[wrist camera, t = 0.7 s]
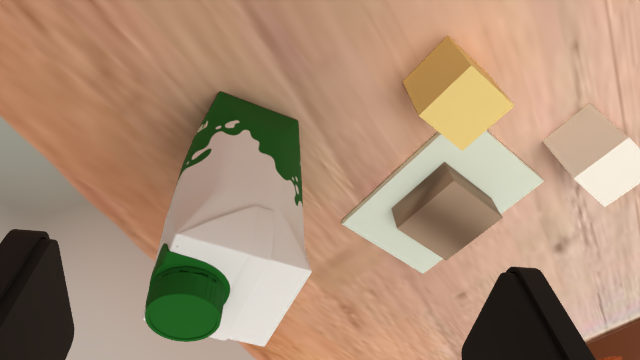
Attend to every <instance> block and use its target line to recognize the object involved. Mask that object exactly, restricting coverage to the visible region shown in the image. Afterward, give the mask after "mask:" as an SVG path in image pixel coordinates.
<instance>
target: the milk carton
mask: <svg viewBox="0 0 640 360" xmlns="http://www.w3.org/2000/svg"><path fill="white" fill-rule="evenodd" d="M311 272H312V271H311V268H310V264H309V261H308V258H307V254H306V251H305V244H304V224H303V202H302V180H301V159H300V143H299V126H298V121H297V120H295V119H292V118H289V117H287V116H284V115H281V114H279V113H276V112H273V111H271V110H268V109H265V108H263V107H260V106H258V105H255V104H252V103H250V102H247V101H244V100H242V99H239V98H236V97H234V96H231V95H228V94H226V93H223V92H221V91H220V92H219V93H218V95H217V97H216V99H215V101H214V102H213V104H212V106H211V108H210V109H209V111H208V113H207V115H206V117H205V118H204V120H203V122H202V124H201V125H200V127H199V129H198V131H197V133H196V135H195V137H194V139H193V141H192V144H191V146H190V149H189V151H188V153H187V155H186V158H185V160H184V163H183V166H182V169H181V172H180V175H179V179H178V182H177V185H176V188H175V191H174V195H173V198H172V201H171V204H170V207H169V211H168V214H167V217H166V220H165V224H164V228H163V232H162V236H161V240H160V244H159V248H158V253H157V257H156V262H155V266H154V270H153V273H152V276H151V281H150V286H149V292H148V296H147V300H146V305H145V310H144V314H143V320H144V321H146V322H147V324H148V326H149V327H150V328H151V329H152V330H153V331H154V332H155V333H157V334H158V335H160V336H162V337H165V338H167V339H171V340H175V341H184V342H189V341H196V340H201V339H204V338H207V337H211V338H215V339H219V340H227V338H228V339H232V340H236V341H241V342H245V343H250V344H254V345H259V346H263V347H264V346H265V345H266V343H267V342H268V340H269V339H270V337H271V335H272V334H273V332H274V331H275V329H276V327H277V326H278V324H279V323H280V321H281V320H282V318H283V316H284V315H285V313H286V312H287V310H288V309H289V307H290V305H291V304H292V302H293V301H294V299H295V298H296V296H297V294H298V293H299V291H300V290H301V288H302V287H303V285H304V283H305V282H306V280H307V279H308V277H309V275H310V274H311Z"/></svg>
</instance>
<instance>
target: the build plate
mask: <svg viewBox="0 0 640 360" xmlns="http://www.w3.org/2000/svg"><path fill="white" fill-rule="evenodd" d="M444 162H446V163H447V164H448V165H450V166H451V167H452V168H454V169H455V170H456V171H457V172H459V173H460V174H461V175H463V176H464V177H465V178H466V179H468V180H469V181H470V182H472V183H473V184H474V185H475V186H477V187H478V188H479V189H481V190H482V191H483V192H484V193H486V194H487V195H488V196H490V197H491V198H492V200H493V202H494V203H495V205H496V207H497V209H498V211H499V212H500V214H502V213H503V212H505V211H506V210H507V209H508V208H510V207H511V206H512V205H514V204H515V203H516V202H518V201H519V200H520V199H522V198H523V197H524V196H525V195H527V194H528V193H529V192H531V191H532V190H533V189H535V188H536V187H537V186H539V185H540V184H541V183H542V182H544V180H543V179H542V177H540V176H539V175H538V174H537V173H536V172H535V171H533V170H532V169H531V168H530V167H529V166H528V165H527V164H525V163H524V162H523V161H522V160H521V159H520V158H518V157H517V156H516V155H515V154H514V153H513V152H512V151H510V150H509V149H508V148H507V147H506V146H505V145H503V144H502V143H501V142H500V141H499V140H498V139H497V138H495V137H494V136H493V135H492V134H491V133H490V132H488V131H487V130H486V131H485V132H484V133H483V134H481V135H480V136H479V137H478V138H477V139H476V140H474V141H473V142H472V143H471V144H470V145H469V146H468V147H466V148H465V149H464V150H463V151H462V150H460V149H459V148H458V147H457V146H455V145H454V144H453V143H452V142H450V141H449V140H448V139H447V138H445V137H444V136H443V135H442V134H441V133H439V132H437V133H436V134H435V135H434V136H433V137H432V138H431V139H430V140H429V141H428V142H426V143H425V144H424V145H423V146H422V147H421V148H420V149H419V150H418V151H417V152H416V153H414V154H413V155H412V156H411V157H410V158H409V159H408V160H407V161H406V162H405V163H404V164H402V165H401V166H400V167H399V168H398V169H397V170H396V171H395V172H394V173H393V174H392V175H390V176H389V177H388V178H387V179H386V180H385V181H384V182H383V183H382V184H381V185H380V186H379V187H377V188H376V189H375V190H374V191H373V192H372V193H371V194H370V195H369V196H368V197H367V198H365V199H364V200H363V201H362V202H361V203H360V204H359V205H358V206H357V207H356V208H355V209H353V210H352V211H351V212H350V213H349V214H348V215H347V216H346V217H345V218H344V219H343V220H342V225H344V226H346V227H347V228H349V229H351V230H352V231H354V232H356V233H357V234H359V235H360V236H362V237H364V238H365V239H367V240H369V241H370V242H372V243H373V244H375V245H377V246H378V247H380V248H382V249H383V250H385V251H387V252H388V253H390V254H391V255H393V256H395V257H396V258H398V259H400V260H401V261H403V262H404V263H406V264H408V265H409V266H411V267H413V268H414V269H416V270H418V271H419V272H421V273H422V274H423V273H425V272H426V271H427V270H429V269H430V268H431V267H433V266H434V265H435V264H437V263H438V262H439V261H440V260H442V259H443V258H441V257H440V256H438V255H437V254H435V253H434V252H432V251H431V250H429V249H428V248H426V247H424V246H423V245H421V244H420V243H418V242H417V241H415V240H414V239H412V238H411V237H409V236H407V235H406V234H404V233H403V232H401V231H400V230H398V229H397V227H396V223H395V220H394V216H393V213H392V209H391V208H392V207H393V206H395V205H396V204H397V203H398V202H399V201H400V200H401V199H403V198H404V197H405V196H406V195H407V194H408V193H409V192H410V191H412V190H413V189H414V188H415V187H416V186H417V185H418V184H420V183H421V182H422V181H423V180H424V179H425V178H426V177H428V176H429V175H430V174H431V173H432V172H433V171H434V170H436V169H437V168H438V167H439V166H440V165H441V164H442V163H444Z"/></svg>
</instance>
